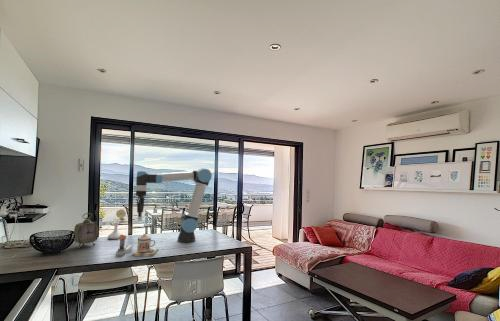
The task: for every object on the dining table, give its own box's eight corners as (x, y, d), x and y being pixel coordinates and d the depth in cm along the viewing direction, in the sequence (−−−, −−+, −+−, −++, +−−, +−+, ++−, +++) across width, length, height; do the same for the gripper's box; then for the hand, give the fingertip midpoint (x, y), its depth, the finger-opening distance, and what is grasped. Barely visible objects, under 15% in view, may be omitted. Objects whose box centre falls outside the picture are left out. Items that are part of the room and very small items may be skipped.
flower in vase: (106, 240, 218) (108, 209, 220) (109, 237, 229) (111, 208, 231) (123, 239, 222) (125, 210, 223) (125, 236, 232) (127, 208, 234)
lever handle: (126, 249, 184) (127, 233, 185) (123, 251, 180) (124, 234, 180) (119, 249, 184) (120, 233, 184) (117, 251, 179) (118, 234, 180)
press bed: (158, 250, 195) (158, 248, 195) (153, 256, 181) (153, 253, 182) (138, 250, 194) (139, 247, 194) (132, 255, 180) (132, 253, 180)
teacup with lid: (136, 252, 181) (137, 235, 182) (136, 249, 190) (137, 233, 191) (154, 251, 186) (156, 235, 187) (154, 248, 194) (155, 232, 195)
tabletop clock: (77, 249, 189) (80, 214, 190) (71, 247, 194) (74, 213, 195) (97, 245, 201) (100, 212, 203) (91, 243, 206) (94, 211, 208)
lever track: (131, 249, 195) (132, 245, 195) (123, 256, 179) (123, 251, 179) (124, 249, 194) (125, 245, 194) (115, 256, 178) (116, 251, 178)
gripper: (138, 190, 212) (137, 219, 211) (133, 191, 199) (132, 222, 198) (148, 190, 213) (147, 219, 212) (143, 191, 200) (142, 222, 199)
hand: (139, 220), depth 205 cm, fingers closed
